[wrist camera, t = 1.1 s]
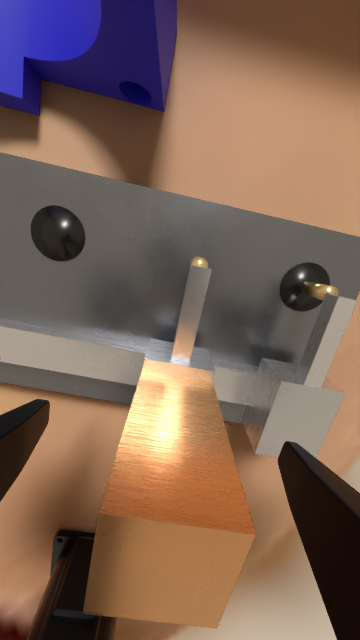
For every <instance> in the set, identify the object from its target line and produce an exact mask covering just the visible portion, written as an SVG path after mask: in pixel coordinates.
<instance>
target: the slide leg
mask: <svg viewBox="0 0 360 640" xmlns="http://www.w3.org/2000/svg"><path fill="white" fill-rule="evenodd" d="M189 267H190V268H189V273H188V278H187V282H186V287H185V292H184V296H183V301H182V305H181V310H180V315H179V319H178V324H177V329H176V333H175V338H174V343H173V342H167V341H162V340H157V339H152V338H151V339H150V342H149V345H148V348H147V351H146V355H145V358H144V362H143V368H142V372H141V375H140V378H139V382H138V385H137V388H136V392H135V395H134V398H133V401H132V405H131V408H130V411H129V414H128V418H127V421H126V424H125V428H124V431H123V434H122V437H121V441H120V444H119V447H118V451H117V454H116V457H115V460H114V464H113V467H112V470H111V473H110V477H109V480H108V483H107V487H106V490H105V493H104V496H103V500H102V503H101V506H100V509H99V513H98V519H97V525H96V532H95V538H94V544H93V551H92V557H91V564H90V570H89V577H88V583H87V589H86V596H85V602H84V609H83V614H90V615H99V616H108V617H117V618H126V619H135V620H145V621H154V622H163V623H172V624H181V625H190V626H200V627H209V628H217V627H218V625H219V622H220V620H221V617H222V615H223V613H224V610H225V608H226V605H227V603H228V601H229V598H230V596H231V593H232V591H233V588H234V586H235V584H236V581H237V579H238V576H239V574H240V572H241V569H242V567H243V564H244V562H245V560H246V557H247V555H248V552H249V550H250V547H251V545H252V543H253V540H254V538H255V535H256V534H255V531H254V527H253V524H252V520H251V516H250V513H249V509H248V506H247V502H246V499H245V495H244V492H243V488H242V484H241V481H240V477H239V474H238V470H237V467H236V463H235V459H234V456H233V452H232V449H231V445H230V442H229V438H228V435H227V431H226V427H225V424H224V420H223V417H222V413H221V410H220V406H219V403H218V399H217V395H216V392H215V388H214V385H213V380H214V377H215V373H216V371H215V368H214V365H213V362H212V359H211V356H210V353H209V350H208V349H204V348H199V347H193V346H194V342H195V338H196V333H197V329H198V325H199V321H200V317H201V313H202V309H203V304H204V300H205V296H206V292H207V288H208V284H209V280H210V275H211V271H212V269H210V268H208V262H207V261H206V259H204V258H201V257H194V258H192V259H191V260H190V262H189Z"/></svg>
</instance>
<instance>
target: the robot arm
mask: <svg viewBox="0 0 360 640" xmlns="http://www.w3.org/2000/svg"><path fill="white" fill-rule="evenodd" d="M49 409H50V403H49V401H48V400H42V399H36V400H34V401H31V402H29V403H27V404H25V405H22V406H20V407H18V408H16V409H13V410H11V411H9V412H6V413H4V414H2V415H0V501H1V500H2V499H3V497H4V496H5V494H6V493H7V491H8V490H9V488H10V487H11V485H12V484H13V483H14V481H15V480H16V478H17V477H18V475H19V474H20V472H21V471H22V469H23V467H24V466H25V464H26V462H27V461H28V459H29V457H30V455H31V453H32V452H33V450H34V448H35V446H36V444H37V443H38V441H39V439H40V437H41V436H42V434H43V432H44V430H45V428H46V426H47V424H48V421H49ZM278 465H279V469H280V473H281V476H282V480H283V484H284V488H285V492H286V495H287V499H288V503H289V506H290V509H291V512H292V515H293V518H294V521H295V524H296V526H297V529H298V532H299V535H300V537H301V540H302V543H303V546H304V549H305V552H306V554H307V557H308V560H309V563H310V565H311V568H312V571H313V574H314V576H315V579H316V582H317V585H318V588H319V590H320V593H321V596H322V599H323V602H324V604H325V607H326V610H327V613H328V616H329V618H330V621H331V624H332V627H333V629H334V632H335V635H336V638H337V640H360V493H359V492H357V491H356V490H355V489H354V488H352V487H351V486H350V485H349V484H347V483H346V482H345V481H344V480H343V479H341V478H340V477H339V476H338V475H336V474H335V473H334V472H333V471H331V470H330V469H329V468H328V467H326V466H325V465H324V464H323V463H321V462H320V461H319V460H318V459H316V458H315V457H314V456H313V455H311V454H310V453H309V452H308V451H306V450H305V449H304V448H303V447H302V446H300V445H299V444H298V443H296V442H291V441H286V442H284V444H283V447H282V449H281V452H280V454H279V457H278ZM94 538H95V534H87V533H80V532H72V531H65V530H60V531H58V532H57V533H56V535H55V537H54V541H53V552H52V564H51V575H50V579H49V582H48V584H47V587H46V589H45V592H44V595H43V597H42V600H41V602H40V605H39V607H38V610H37V612H36V615H35V617H34V620H33V622H32V625H31V628H30V630H29V633H28V635H27V638H26V640H113V638H114V632H115V626H116V620H117V617H108V616H99V615H90V614H83V609H84V602H85V596H86V589H87V583H88V577H89V570H90V564H91V557H92V551H93V544H94Z"/></svg>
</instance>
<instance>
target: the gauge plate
mask: <svg viewBox="0 0 360 640" xmlns="http://www.w3.org/2000/svg"><path fill="white" fill-rule="evenodd" d="M194 257H201V258H204V259H206V261H207V262H208V268H210V269H212V271H211V275H210V280H209V284H208V288H207V292H206V296H205V300H204V304H203V309H202V313H201V317H200V321H199V325H198V329H197V333H196V338H195V342H194V346H193V347H199V348H204V349H208V350H209V353H210V356H211V359H212V362H213V365H214V368H215V371H216V373H215V377H214V380H213V385H214V388H215V392H216V395H217V399H218V403H219V406H220V410H221V413H222V417H223V420H224V421H230V422H236V423H241V424H243V425H244V427H245V430H246V433H247V435H248V438H249V440H250V443H251V445H252V448H253V450H254V453H255V454H259V455H265V456H271V457H277V458H278V457H279V454H280V452H281V449H282V447H283V444H284V442H286V441H291V442H296V443H298V444H299V445H300V446H302V447H303V448H304V449H305V450H306V451H308V452H309V453H310V454H311V455H313V456H314V457H315V458H316V457H317V455H318V453H319V451H320V448H321V446H322V444H323V442H324V440H325V437H326V435H327V433H328V431H329V429H330V426H331V424H332V422H333V420H334V418H335V415H336V413H337V411H338V409H339V407H340V404H341V402H342V400H343V398H344V396H345V392H344V391H343V390H341V389H340V388H339V387H338V386H336V385H335V384H334V383H333V382H332V381H330V380H329V379H328V378H327V377H326V375H327V372H328V370H329V367H330V365H331V363H332V360H333V358H334V356H335V353H336V351H337V348H338V346H339V344H340V341H341V339H342V336H343V334H344V332H345V329H346V327H347V325H348V322H349V320H350V317H351V315H352V313H353V310H354V308H355V306H356V303H357V300H356V299H357V296H358V294H359V291H360V237H357V236H353V235H349V234H345V233H340V232H336V231H332V230H328V229H323V228H319V227H315V226H311V225H306V224H302V223H298V222H294V221H289V220H285V219H281V218H277V217H272V216H268V215H264V214H260V213H255V212H251V211H247V210H243V209H238V208H234V207H230V206H226V205H221V204H217V203H213V202H209V201H204V200H200V199H196V198H192V197H187V196H183V195H179V194H175V193H170V192H166V191H162V190H158V189H153V188H149V187H145V186H141V185H136V184H132V183H128V182H124V181H119V180H115V179H111V178H107V177H102V176H98V175H94V174H90V173H85V172H81V171H77V170H73V169H68V168H64V167H60V166H56V165H52V164H47V163H43V162H39V161H35V160H30V159H26V158H22V157H18V156H13V155H9V154H5V153H1V152H0V382H2V383H8V384H14V385H20V386H26V387H31V388H37V389H43V390H49V391H55V392H61V393H66V394H72V395H78V396H84V397H90V398H96V399H101V400H107V401H113V402H119V403H125V404H131V405H132V401H133V398H134V395H135V392H136V388H137V385H138V382H139V378H140V375H141V372H142V368H143V362H144V358H145V355H146V351H147V348H148V345H149V342H150V339H151V338H152V339H157V340H162V341H167V342H173V343H174V338H175V333H176V329H177V324H178V319H179V315H180V310H181V305H182V301H183V296H184V292H185V287H186V282H187V278H188V273H189V268H190V267H189V262H190V260H191V259H192V258H194Z"/></svg>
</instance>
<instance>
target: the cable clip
mask: <svg viewBox="0 0 360 640" xmlns="http://www.w3.org/2000/svg"><path fill="white" fill-rule="evenodd" d="M176 37H177V0H0V106H3V107H7V108H11V109H15V110H19V111H23V112H27V113H31V114H35V115H39V116H40V96H41V79H43V80H47V81H50V82H54V83H58V84H62V85H65V86H69V87H73V88H77V89H80V90H84V91H88V92H92V93H95V94H99V95H103V96H107V97H110V98H114V99H118V100H122V101H125V102H129V103H133V104H137V105H141V106H144V107H148V108H152V109H156V110H159V111H163V112H164V110H165V104H166V98H167V91H168V85H169V79H170V73H171V67H172V61H173V55H174V49H175V43H176Z"/></svg>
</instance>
